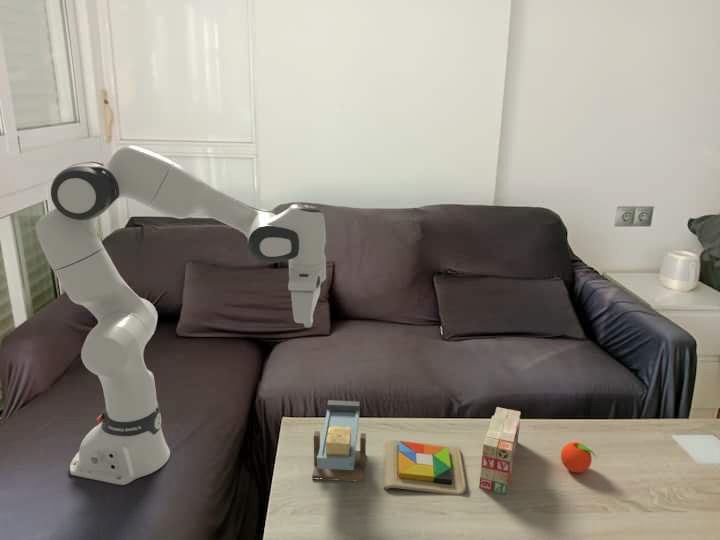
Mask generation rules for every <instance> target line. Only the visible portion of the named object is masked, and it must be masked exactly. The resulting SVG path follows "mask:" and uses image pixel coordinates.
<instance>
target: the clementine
mask: <svg viewBox="0 0 720 540" xmlns="http://www.w3.org/2000/svg"><path fill="white" fill-rule="evenodd" d="M592 455H594V457H595V459H596V460H597V457H596V455H595V452H593V451H592V450H591V449H590V448H589V447H587V446H585V444H582V443H580V442H577V441H575V442H569V443H567V444H565V445H564V446H563V448H562V450H561V452H560V460H561V463H562V465H563V466H564V467H565V468H566V469H567V470H568V471H570V472H573V473H583V472H586V471H587V470H588V469H589V468H590V467H591V464H592Z"/></svg>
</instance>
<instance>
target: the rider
mask: <svg viewBox="0 0 720 540" xmlns="http://www.w3.org/2000/svg"><path fill="white" fill-rule="evenodd" d="M350 450H351V427H335V426H329V430H328V435H327V440H326V456H340V457H350Z"/></svg>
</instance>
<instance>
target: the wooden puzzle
mask: <svg viewBox="0 0 720 540" xmlns="http://www.w3.org/2000/svg"><path fill="white" fill-rule="evenodd" d="M384 447H385V457H384V456H383V473H384V477H382V479H383V482H382V484H383V485H382V488H383V487H384V488H385V490H387V489H391V488H392V489H401V490H410V491H417V492H427V493H433V494H442V495H451V496H452V495H455V496H456V495H457V496H459V495H460V496H462V495H463V494H465V492H466V489H467V486H466V478H465V473H464V466H463V460H462V454H461V449H460V445H458V444H456V445H455V444H454V445H451V446H449V445H441V444H439V445H438V444H432V443H422V442H415V441H414V442H413V441H406V440H399V439H398V440H397V439H389V440H387V441H386V443H384ZM384 488H383V489H384Z"/></svg>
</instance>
